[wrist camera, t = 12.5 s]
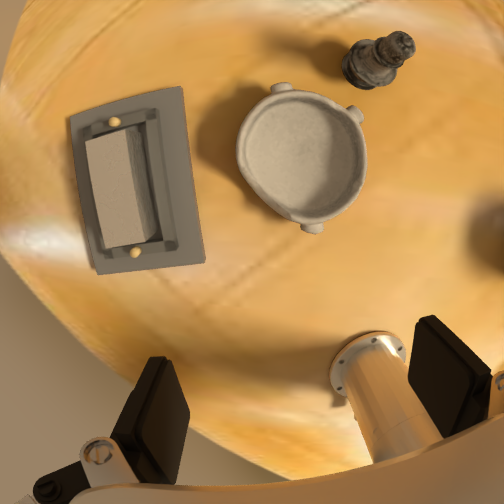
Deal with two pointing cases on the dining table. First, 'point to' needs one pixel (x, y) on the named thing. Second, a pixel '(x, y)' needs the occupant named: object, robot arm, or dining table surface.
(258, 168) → the dish
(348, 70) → the dark grey chess piece
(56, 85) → the dining table surface
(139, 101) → the switch frame
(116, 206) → the aluminium bar
